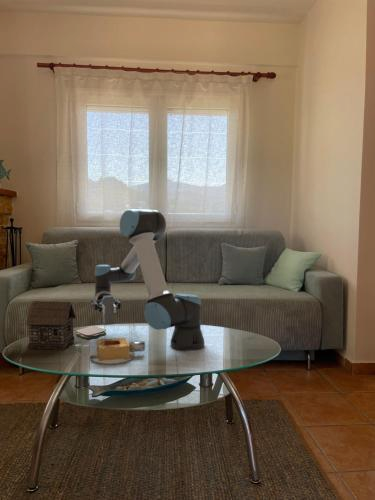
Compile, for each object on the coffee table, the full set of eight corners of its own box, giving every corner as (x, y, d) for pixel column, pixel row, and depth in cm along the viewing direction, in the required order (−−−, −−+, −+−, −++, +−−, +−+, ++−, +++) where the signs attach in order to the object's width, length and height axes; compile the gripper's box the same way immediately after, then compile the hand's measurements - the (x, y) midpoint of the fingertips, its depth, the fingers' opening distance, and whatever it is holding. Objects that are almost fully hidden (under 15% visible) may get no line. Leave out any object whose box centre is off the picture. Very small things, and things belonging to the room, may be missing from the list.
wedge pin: (112, 321, 187) (112, 295, 186) (113, 324, 183) (113, 296, 182) (103, 322, 186) (103, 295, 185) (104, 324, 182) (103, 297, 181)
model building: (25, 349, 183) (24, 304, 181) (39, 340, 197) (38, 297, 196) (66, 350, 182) (65, 304, 180) (77, 340, 196) (76, 298, 194)
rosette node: (140, 348, 185) (140, 334, 185) (148, 361, 168) (148, 346, 167) (88, 352, 179) (88, 338, 178) (91, 366, 162) (91, 351, 161)
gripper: (122, 306, 204) (129, 317, 182) (86, 308, 199) (89, 320, 177) (122, 291, 203) (129, 300, 181) (86, 292, 199) (88, 302, 176)
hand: (109, 310), depth 179 cm, fingers closed on wedge pin, 4 cm apart
